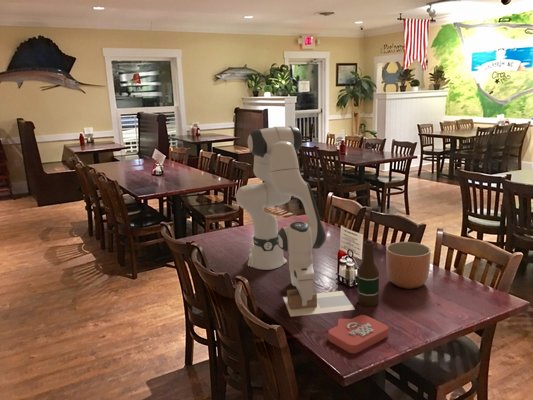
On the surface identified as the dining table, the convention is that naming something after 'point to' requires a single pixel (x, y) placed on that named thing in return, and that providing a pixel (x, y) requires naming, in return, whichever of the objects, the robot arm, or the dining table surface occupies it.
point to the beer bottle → (368, 278)
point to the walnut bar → (295, 299)
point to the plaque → (357, 333)
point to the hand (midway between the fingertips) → (302, 300)
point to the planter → (408, 264)
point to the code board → (324, 304)
